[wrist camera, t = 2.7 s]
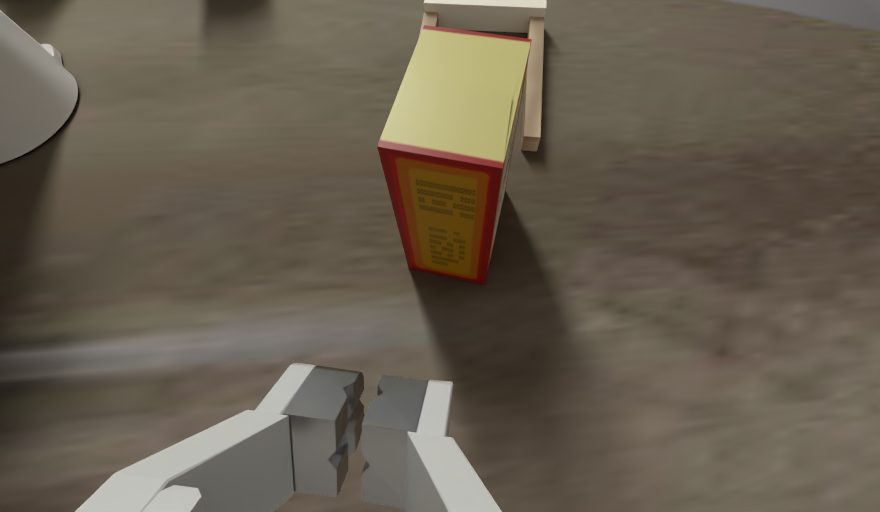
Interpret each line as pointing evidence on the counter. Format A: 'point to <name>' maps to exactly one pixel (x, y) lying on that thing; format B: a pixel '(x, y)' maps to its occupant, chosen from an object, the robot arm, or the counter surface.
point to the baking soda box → (453, 147)
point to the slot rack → (502, 10)
